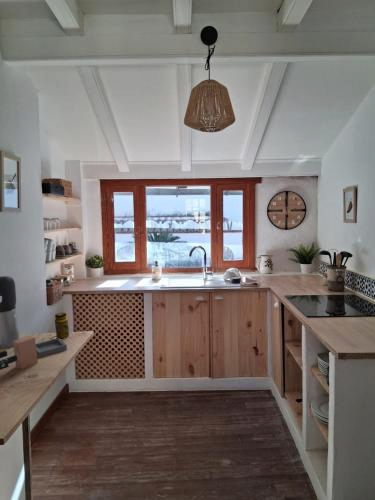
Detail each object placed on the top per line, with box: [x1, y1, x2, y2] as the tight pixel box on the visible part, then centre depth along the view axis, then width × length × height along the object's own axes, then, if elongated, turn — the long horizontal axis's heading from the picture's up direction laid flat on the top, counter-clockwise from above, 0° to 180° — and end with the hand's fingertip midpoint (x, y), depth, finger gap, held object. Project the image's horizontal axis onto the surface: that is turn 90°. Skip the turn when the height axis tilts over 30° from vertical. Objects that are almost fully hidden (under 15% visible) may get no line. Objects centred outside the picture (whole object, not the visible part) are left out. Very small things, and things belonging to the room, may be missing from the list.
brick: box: [12, 335, 39, 370], centre depth 153 cm, size 4×7×11 cm, turn 141°
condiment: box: [50, 312, 73, 340], centre depth 183 cm, size 7×8×12 cm
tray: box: [36, 338, 68, 358], centre depth 168 cm, size 12×12×2 cm
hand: (11, 355), depth 148 cm, fingers open, 8 cm apart
